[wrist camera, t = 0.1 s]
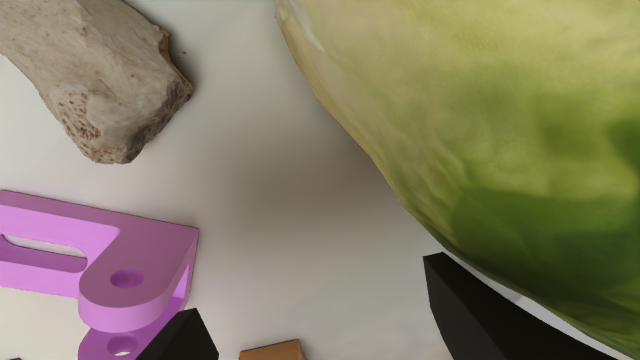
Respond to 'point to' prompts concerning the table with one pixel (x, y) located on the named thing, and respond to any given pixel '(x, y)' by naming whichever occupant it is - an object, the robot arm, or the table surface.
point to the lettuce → (499, 135)
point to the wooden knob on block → (275, 352)
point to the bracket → (100, 268)
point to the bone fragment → (96, 71)
